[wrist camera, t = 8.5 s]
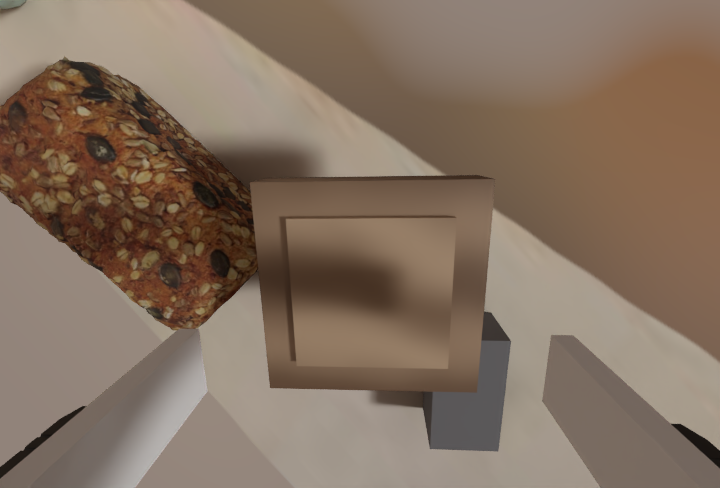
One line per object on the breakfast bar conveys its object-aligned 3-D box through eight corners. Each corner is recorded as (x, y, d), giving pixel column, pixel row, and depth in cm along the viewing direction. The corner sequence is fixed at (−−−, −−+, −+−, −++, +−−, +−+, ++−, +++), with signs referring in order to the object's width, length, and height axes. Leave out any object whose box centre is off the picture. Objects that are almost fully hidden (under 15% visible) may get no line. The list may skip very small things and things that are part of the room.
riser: (481, 409, 35) (498, 451, 30) (423, 408, 35) (430, 448, 30) (491, 312, 32) (510, 341, 27) (427, 312, 32) (435, 339, 27)
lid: (464, 361, 22) (478, 397, 19) (283, 358, 23) (268, 392, 20) (477, 175, 19) (498, 179, 16) (268, 178, 20) (246, 182, 16)
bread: (73, 161, 31) (-68, 164, 21) (141, 71, 28) (18, 28, 19) (226, 301, 33) (164, 361, 24) (300, 230, 31) (264, 265, 21)
